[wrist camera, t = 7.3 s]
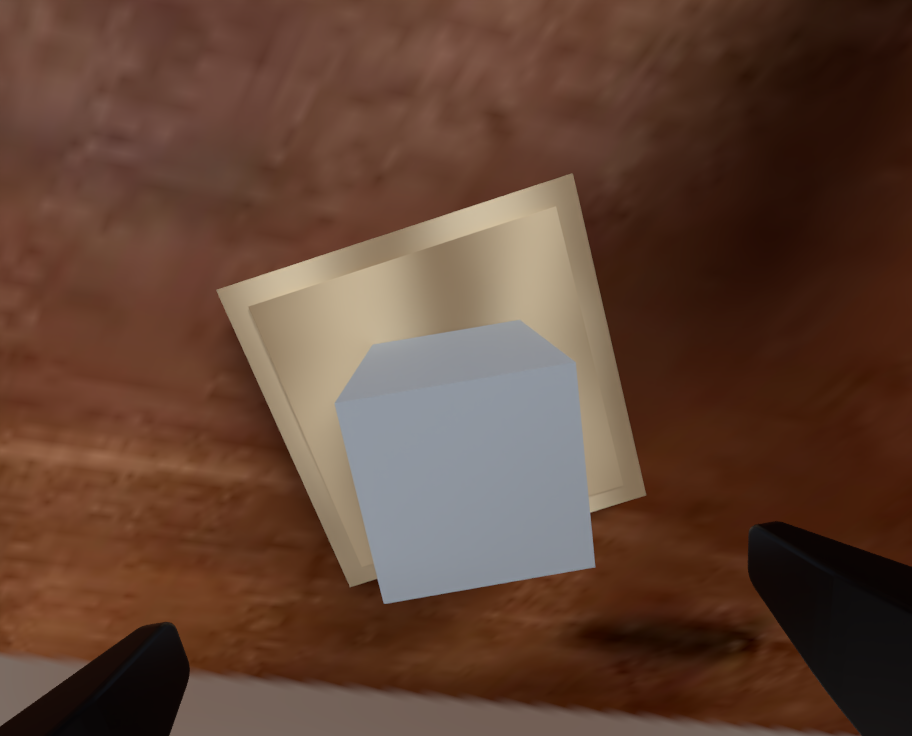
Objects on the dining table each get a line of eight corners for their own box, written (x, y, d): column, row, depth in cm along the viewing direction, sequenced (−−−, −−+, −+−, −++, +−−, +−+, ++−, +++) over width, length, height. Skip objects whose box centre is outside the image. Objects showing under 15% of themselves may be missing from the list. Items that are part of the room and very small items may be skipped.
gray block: (519, 319, 15) (575, 362, 9) (536, 454, 16) (595, 567, 10) (372, 344, 15) (334, 403, 9) (401, 477, 16) (383, 604, 10)
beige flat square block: (548, 187, 17) (574, 172, 14) (614, 460, 20) (647, 497, 17) (252, 284, 17) (213, 290, 14) (361, 539, 20) (349, 589, 17)
